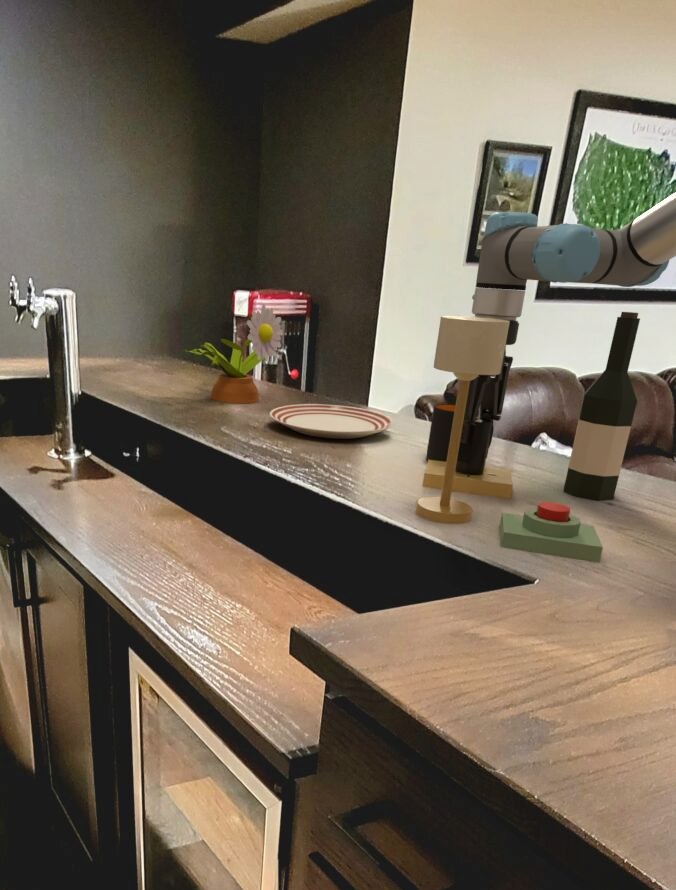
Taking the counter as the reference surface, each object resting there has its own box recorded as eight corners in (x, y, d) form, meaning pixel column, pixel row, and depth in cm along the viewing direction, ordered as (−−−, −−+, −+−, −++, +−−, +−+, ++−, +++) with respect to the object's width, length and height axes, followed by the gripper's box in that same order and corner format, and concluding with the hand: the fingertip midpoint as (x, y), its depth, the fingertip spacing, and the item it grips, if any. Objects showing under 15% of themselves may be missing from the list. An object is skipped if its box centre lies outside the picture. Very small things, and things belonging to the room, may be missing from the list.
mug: (495, 468, 136) (505, 414, 133) (433, 465, 136) (442, 411, 132) (479, 457, 144) (488, 406, 141) (420, 454, 144) (428, 403, 140)
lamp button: (566, 516, 99) (568, 504, 98) (569, 525, 95) (572, 513, 94) (534, 512, 100) (537, 500, 99) (536, 521, 96) (539, 508, 96)
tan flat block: (508, 483, 127) (511, 469, 126) (510, 499, 118) (513, 483, 117) (426, 472, 131) (428, 458, 130) (422, 487, 122) (424, 472, 121)
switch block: (589, 540, 101) (596, 513, 100) (599, 563, 93) (606, 534, 91) (499, 526, 104) (504, 500, 103) (500, 547, 96) (506, 519, 95)
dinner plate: (365, 451, 144) (367, 434, 143) (246, 429, 157) (247, 414, 156) (408, 430, 166) (410, 415, 165) (301, 412, 179) (302, 399, 178)
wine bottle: (553, 490, 124) (592, 310, 114) (574, 483, 129) (613, 310, 120) (603, 503, 118) (648, 314, 108) (622, 495, 124) (667, 314, 114)
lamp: (474, 511, 111) (508, 319, 101) (473, 529, 103) (510, 322, 93) (414, 502, 113) (442, 314, 104) (409, 519, 105) (439, 317, 96)
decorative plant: (233, 410, 177) (240, 304, 169) (167, 394, 192) (169, 297, 184) (300, 400, 196) (309, 304, 188) (234, 387, 211) (240, 298, 203)
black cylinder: (488, 472, 123) (498, 418, 120) (475, 476, 120) (484, 421, 117) (462, 466, 127) (471, 413, 124) (448, 470, 123) (457, 416, 120)
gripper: (498, 315, 124) (475, 447, 131) (445, 315, 112) (423, 461, 119) (541, 319, 119) (515, 456, 126) (490, 320, 107) (465, 472, 114)
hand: (470, 458), depth 123 cm, fingers closed on black cylinder, 5 cm apart
